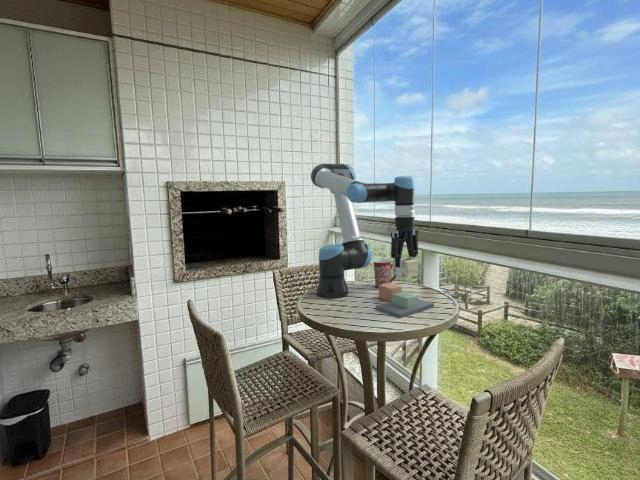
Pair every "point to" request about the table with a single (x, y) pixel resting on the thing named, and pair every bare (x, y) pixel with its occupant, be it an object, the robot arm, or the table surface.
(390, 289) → the terracotta brick
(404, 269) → the maple brick
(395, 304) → the baseplate
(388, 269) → the mug
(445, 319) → the table surface
